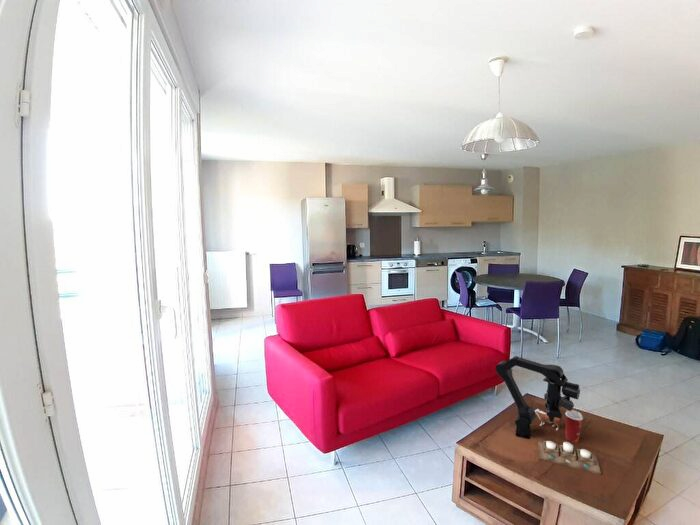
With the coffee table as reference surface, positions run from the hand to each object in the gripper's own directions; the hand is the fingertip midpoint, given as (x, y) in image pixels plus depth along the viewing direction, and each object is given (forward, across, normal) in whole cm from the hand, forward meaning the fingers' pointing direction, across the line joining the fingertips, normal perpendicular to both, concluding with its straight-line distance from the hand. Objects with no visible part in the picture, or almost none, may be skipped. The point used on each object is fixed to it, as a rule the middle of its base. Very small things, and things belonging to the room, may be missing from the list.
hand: (551, 421), depth 171 cm
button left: (+12, -6, 0) cm, 13 cm away
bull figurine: (+13, +18, 0) cm, 22 cm away
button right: (+12, -6, -14) cm, 19 cm away
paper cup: (+13, +11, -11) cm, 20 cm away
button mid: (+10, -6, -7) cm, 14 cm away
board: (+13, -7, -7) cm, 16 cm away
